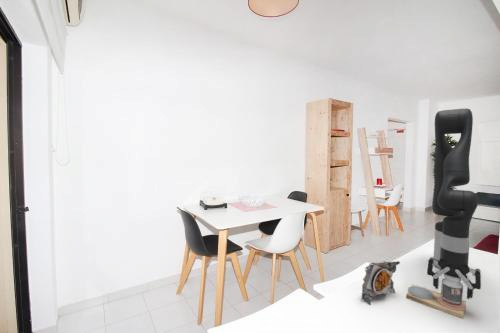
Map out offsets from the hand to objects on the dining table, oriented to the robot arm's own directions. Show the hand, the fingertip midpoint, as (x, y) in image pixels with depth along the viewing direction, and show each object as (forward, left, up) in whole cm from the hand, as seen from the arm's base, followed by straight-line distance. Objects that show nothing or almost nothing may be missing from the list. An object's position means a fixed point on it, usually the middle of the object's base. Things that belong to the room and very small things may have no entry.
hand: (451, 292), depth 86 cm
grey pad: (0, -9, -4) cm, 10 cm away
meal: (+11, -20, -5) cm, 23 cm away
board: (0, -4, -5) cm, 7 cm away
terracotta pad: (0, 0, -4) cm, 4 cm away
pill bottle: (0, 0, -4) cm, 4 cm away
